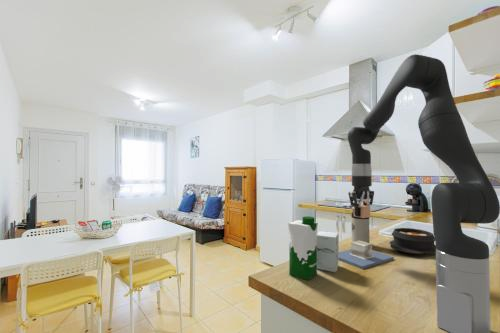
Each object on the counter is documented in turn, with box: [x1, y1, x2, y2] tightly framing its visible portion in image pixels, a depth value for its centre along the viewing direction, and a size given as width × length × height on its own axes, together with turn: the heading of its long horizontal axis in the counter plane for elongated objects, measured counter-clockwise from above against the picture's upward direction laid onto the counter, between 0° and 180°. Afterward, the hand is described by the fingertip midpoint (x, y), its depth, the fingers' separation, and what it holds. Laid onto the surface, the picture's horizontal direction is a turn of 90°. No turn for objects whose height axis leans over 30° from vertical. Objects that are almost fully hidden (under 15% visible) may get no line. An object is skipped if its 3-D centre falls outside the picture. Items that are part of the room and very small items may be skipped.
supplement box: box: [317, 230, 340, 273], centre depth 90 cm, size 7×7×13 cm
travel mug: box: [350, 206, 371, 244], centre depth 118 cm, size 8×8×18 cm
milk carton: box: [287, 216, 319, 281], centre depth 84 cm, size 9×9×20 cm
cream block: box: [350, 241, 373, 259], centre depth 100 cm, size 5×6×5 cm
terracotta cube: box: [353, 204, 371, 218], centre depth 100 cm, size 4×4×4 cm
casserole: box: [389, 227, 436, 255], centre depth 110 cm, size 25×19×8 cm
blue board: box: [338, 249, 395, 270], centre depth 99 cm, size 20×15×1 cm
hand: (361, 215), depth 100 cm, fingers closed on terracotta cube, 4 cm apart
